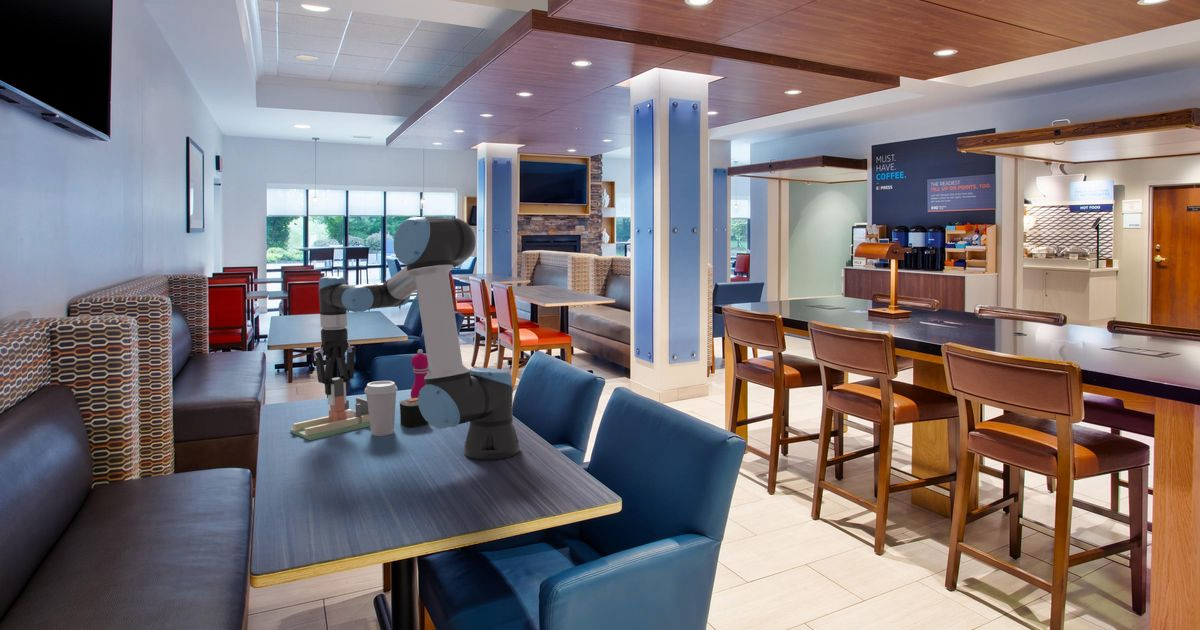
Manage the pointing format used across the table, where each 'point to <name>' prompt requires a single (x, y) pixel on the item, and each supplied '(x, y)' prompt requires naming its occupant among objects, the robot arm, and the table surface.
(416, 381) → the pepper mill
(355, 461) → the table surface
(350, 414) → the ball
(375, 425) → the coffee cup
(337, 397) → the black and red block
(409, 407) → the sushi
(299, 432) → the pitch
